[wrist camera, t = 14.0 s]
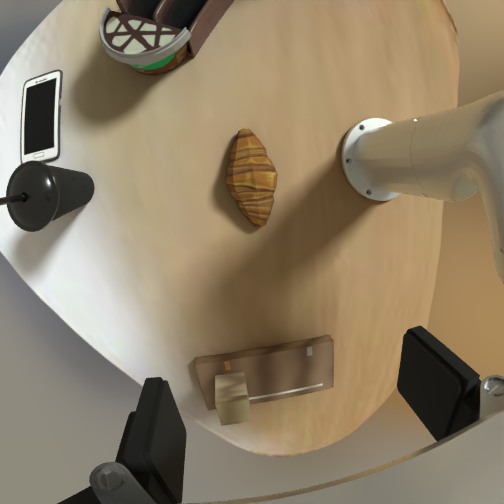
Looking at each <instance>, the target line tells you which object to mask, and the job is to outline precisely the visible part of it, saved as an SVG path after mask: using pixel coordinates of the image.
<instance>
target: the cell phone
mask: <svg viewBox="0 0 504 504" xmlns="http://www.w3.org/2000/svg"><path fill="white" fill-rule="evenodd" d="M62 77H63V75H62V71H61V70H54V71H51V72H48V73H45V74H43V75H40V76H37V77H34V78H31V79H29V80H27V81H26V82H25V84H24V89H23V95H24V96H23V99H22V108H23V110H22V114H21V163H22V164H23V163H25V162H27V161H32V160H35V161H40V162H47V161H51V160H55V159H57V158H59V156H60V112H61V105H60V99H61V91H62Z"/></svg>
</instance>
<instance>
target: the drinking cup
mask: <svg viewBox="0 0 504 504" xmlns="http://www.w3.org/2000/svg"><path fill="white" fill-rule="evenodd" d="M93 194H94V183H93V180H92V178H91V177H90V176H89V175H88V174H86V173H83V172H79V171H74V170H69V169H64V168H59V167H54V166H49V165H46V164H45V163H43V162H40V161H35V160H32V161H27V162H25V163H23V164H21V165H20V166H19V167H18V168H16V170H15V171H14V172H13V174H12V175H11V177H10V180H9V182H8V186H7V191H6V197H3V198H0V205H5V204H7V208H8V211H9V214H10V216H11V218H12V220H13V221H14V223H15V224H16V225H17V226H18V227H20V228H21V229H23V230H25V231H29V232H35V231H39V230H41V229H43V228H45V227H46V226H47V225H48V224H49V223H50V222H51V221H53V220H55V219H57V218H59V217H61V216H63V215H64V214H66V213H68V212H70V211H72V210H74V209H76V208H78V207H80V206H82V205H84V204H86V203H88V202H89V201H90V200H91V198H92V196H93Z"/></svg>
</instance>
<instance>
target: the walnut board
mask: <svg viewBox="0 0 504 504" xmlns="http://www.w3.org/2000/svg"><path fill="white" fill-rule="evenodd" d="M195 368H196V371H197V375H198V378H199V382H200V385H201V389H202V392H203V395H204V399H205V402H206V405H207V408H208V410H211V409H217V408H216V405H215V376H217V375H224V374H231V373H238V372H244V374H245V380H246V385H247V390H248V396H249V403H250V404H255V403H261V402H267V401H273V400H278V399H284V398H289V397H294V396H298V395H303V394H308V393H312V392H316V391H321V390H325V389H329V388H333V383H334V347H333V339H332V338H331V336H330V335H326V336H321V337H317V338H312V339H307V340H302V341H297V342H292V343H287V344H282V345H276V346H271V347H265V348H259V349H253V350H247V351H240V352H234V353H227V354H220V355H213V356H205V357H197V358H195Z"/></svg>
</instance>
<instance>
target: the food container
mask: <svg viewBox="0 0 504 504" xmlns="http://www.w3.org/2000/svg"><path fill="white" fill-rule="evenodd" d="M99 33H100V39H101V42H102V45H103V48H104V49H105V51H106V52H107V53H108V54H109V55H110V57H112V58H113V59H115V60H117V61H119V62H122V63H126V64H129V65H130V66H131V67H132V68H134V69H135V70H136V71H138V72H139V73H142V74H145V75H159V74H163V73H166V72H168V71H170V70H172V69H174V68H175V67H177V66H178V65H179V64H180V63H181V62H182V61H183V60H184V59H185V57H186V56H187V41H188V40H189V39H190V37H191V34H190V32H189V30H187V29H186V27H185V28H184V29H183V30H181V29H178V28H174V27H171V26H168V25H164V24H162V23H159V22H156V21H153V20H150V19H147V18H143V17H138V16H133V15H128V14H124V13H119V12H115V11H111V10H110V8H109V7H108V6H107V8H106V9H105V11H104V13H103V15H102V18H101V21H100V29H99Z"/></svg>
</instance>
